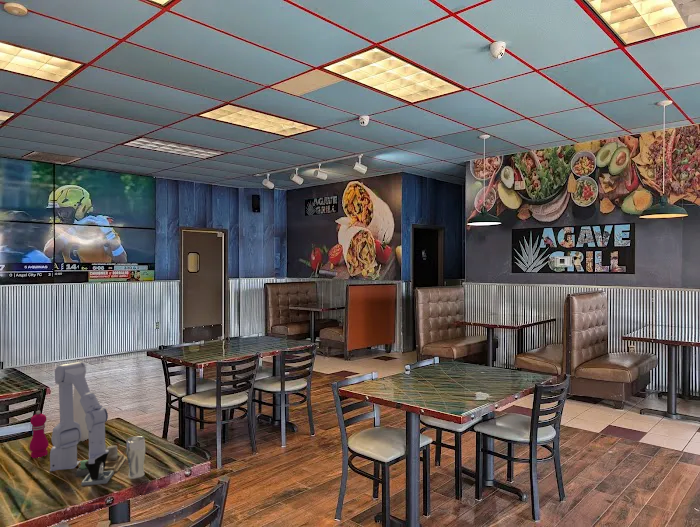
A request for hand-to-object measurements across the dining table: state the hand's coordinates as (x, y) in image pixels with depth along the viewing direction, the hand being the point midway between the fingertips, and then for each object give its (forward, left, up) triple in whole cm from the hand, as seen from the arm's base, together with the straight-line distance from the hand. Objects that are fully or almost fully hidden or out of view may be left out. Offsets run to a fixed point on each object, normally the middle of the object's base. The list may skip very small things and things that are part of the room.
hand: (97, 475), depth 195 cm
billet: (0, 0, -2) cm, 2 cm away
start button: (-7, +7, -1) cm, 10 cm away
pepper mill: (-34, +33, -2) cm, 48 cm away
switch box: (-7, +7, -2) cm, 10 cm away
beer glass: (+14, 0, -2) cm, 14 cm away
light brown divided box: (+1, +12, -2) cm, 13 cm away
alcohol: (-23, +51, -2) cm, 56 cm away
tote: (0, 0, -2) cm, 2 cm away
